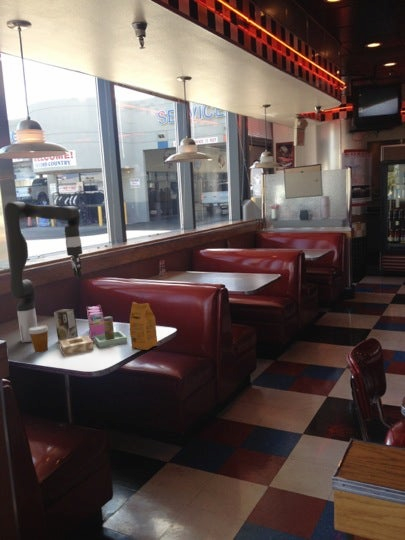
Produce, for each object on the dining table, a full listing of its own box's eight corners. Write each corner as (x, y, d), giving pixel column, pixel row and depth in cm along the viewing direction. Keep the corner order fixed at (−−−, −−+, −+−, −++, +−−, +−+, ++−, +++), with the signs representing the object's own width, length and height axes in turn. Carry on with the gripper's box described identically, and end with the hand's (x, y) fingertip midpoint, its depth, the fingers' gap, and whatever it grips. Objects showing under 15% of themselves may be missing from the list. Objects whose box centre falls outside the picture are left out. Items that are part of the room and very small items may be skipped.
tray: (99, 348, 245) (99, 342, 245) (94, 341, 258) (93, 336, 258) (127, 342, 251) (126, 336, 250) (120, 336, 264) (119, 330, 263)
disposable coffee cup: (40, 354, 244) (36, 330, 242) (27, 352, 249) (23, 329, 248) (55, 348, 252) (51, 325, 250) (42, 346, 257) (39, 324, 256)
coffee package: (143, 342, 249) (138, 299, 245) (160, 345, 241) (156, 301, 237) (128, 348, 241) (123, 304, 238) (145, 351, 233) (140, 305, 230)
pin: (106, 342, 251) (104, 319, 250) (104, 340, 255) (102, 317, 254) (115, 340, 253) (113, 317, 252) (113, 338, 257) (110, 316, 256)
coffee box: (78, 338, 268) (74, 309, 265) (70, 341, 262) (66, 312, 259) (65, 337, 271) (61, 308, 269) (57, 341, 266) (53, 311, 263)
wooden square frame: (64, 355, 239) (63, 347, 238) (60, 348, 252) (59, 340, 251) (93, 349, 244) (92, 341, 244) (88, 342, 257) (87, 335, 256)
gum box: (89, 329, 285) (86, 305, 283) (103, 326, 287) (100, 304, 285) (90, 339, 262) (87, 314, 260) (106, 337, 264) (102, 312, 262)
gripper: (64, 245, 259) (68, 276, 261) (68, 247, 246) (72, 279, 248) (78, 243, 262) (82, 274, 264) (83, 245, 249) (87, 277, 251)
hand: (77, 276), depth 256 cm, fingers open, 8 cm apart
